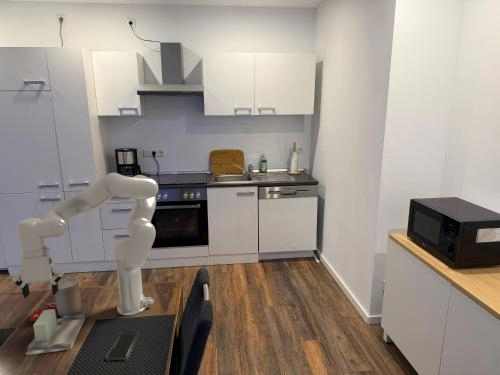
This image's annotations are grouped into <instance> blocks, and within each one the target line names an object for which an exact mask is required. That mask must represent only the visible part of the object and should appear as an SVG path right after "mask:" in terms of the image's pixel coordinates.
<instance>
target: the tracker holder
mask: <svg viewBox="0 0 500 375" xmlns="http://www.w3.org/2000/svg"><path fill="white" fill-rule="evenodd" d="M51 309H55V314H56V319H58V316H59V315H58V312H57V306H56V303H54V302H49V303H47V307H45V308H42V309H38V310H36V311H35V312H33V313H32V314H31V316H30V322H31V323H32V322H34V323H35V322H36V321H37V319H38V318H39V316H40V315H41V314H42V312H43V311H44V310H51Z"/></svg>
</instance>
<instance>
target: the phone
mask: <svg viewBox="0 0 500 375" xmlns="http://www.w3.org/2000/svg"><path fill="white" fill-rule="evenodd" d="M139 336H140V332H139V331H124V332H123V331H122V332H119V333H118V334H117V337H116V338H115V340H114V342H113V344H112V345H111V347H110V349H109V351H108V352H107V354H106V356H105V361H106V360H125V361H127V360H128V359H129V358H130V356H129V355H131V353H132V351H133V349H134V346H135V345H136V343H137V341H138V339H139ZM132 348H133V349H132ZM130 352H131V353H130ZM128 357H129V358H128Z"/></svg>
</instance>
